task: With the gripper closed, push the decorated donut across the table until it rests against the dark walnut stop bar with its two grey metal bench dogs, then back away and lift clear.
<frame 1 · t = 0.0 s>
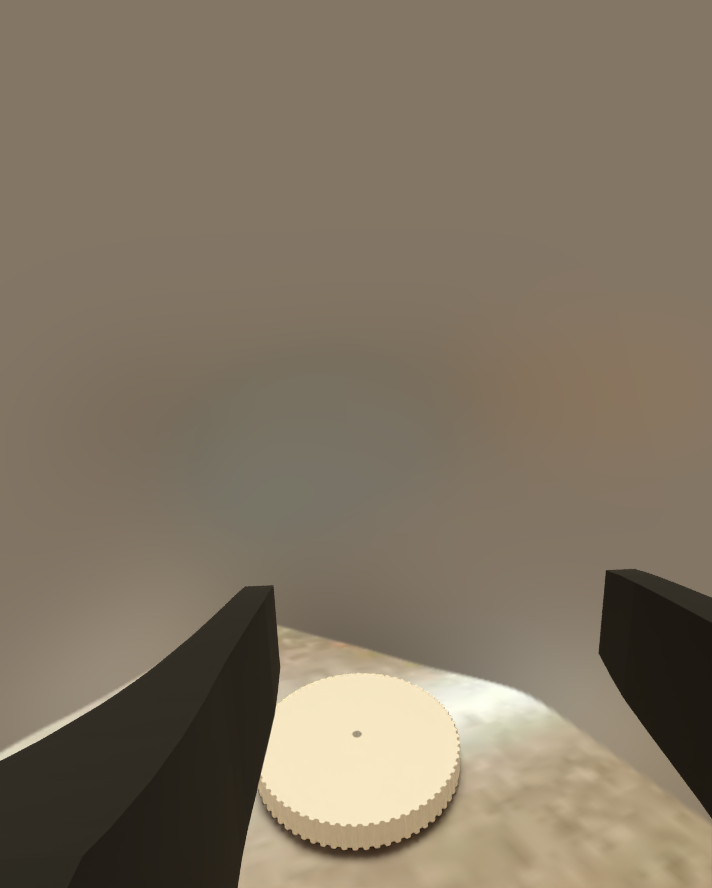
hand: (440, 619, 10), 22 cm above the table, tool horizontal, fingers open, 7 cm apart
plastic lid: (358, 769, 34), on the table
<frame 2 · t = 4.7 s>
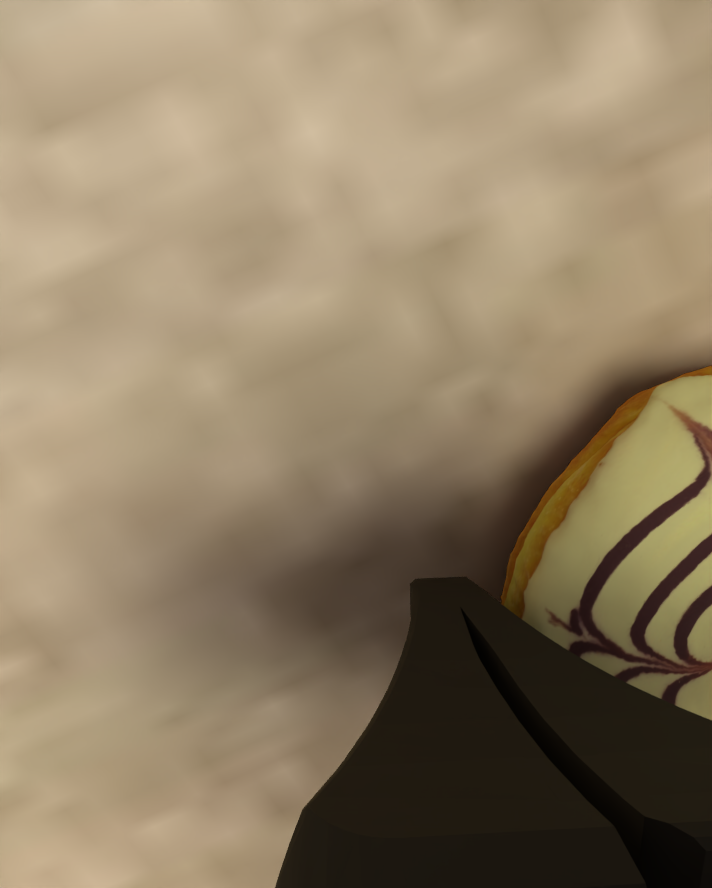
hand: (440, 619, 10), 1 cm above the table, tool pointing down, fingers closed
decorated donut: (687, 574, 12), on the table, touching gripper
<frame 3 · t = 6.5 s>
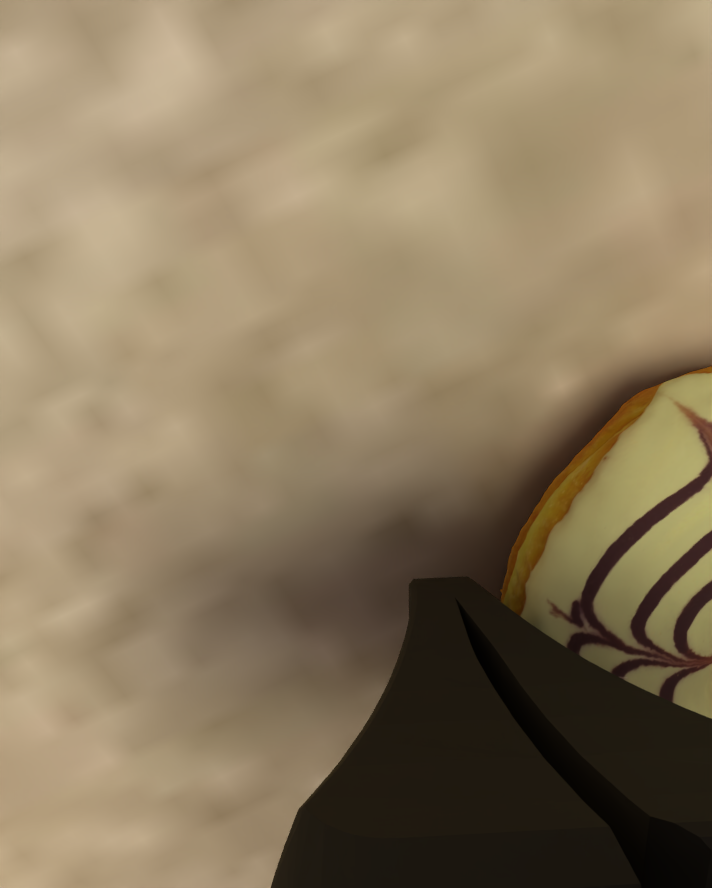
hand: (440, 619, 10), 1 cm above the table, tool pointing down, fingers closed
decorated donut: (685, 573, 12), on the table, touching gripper
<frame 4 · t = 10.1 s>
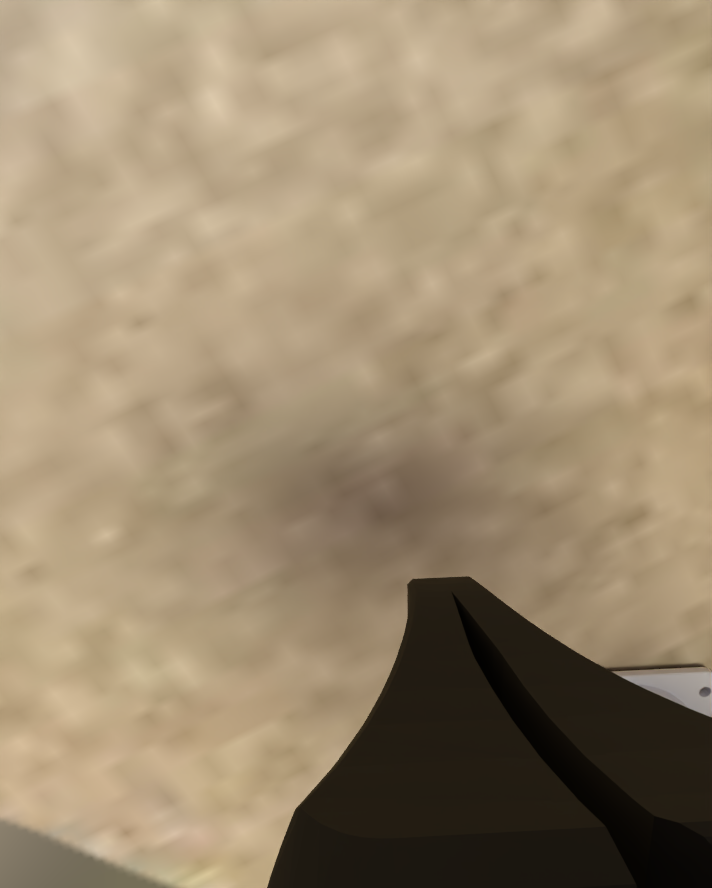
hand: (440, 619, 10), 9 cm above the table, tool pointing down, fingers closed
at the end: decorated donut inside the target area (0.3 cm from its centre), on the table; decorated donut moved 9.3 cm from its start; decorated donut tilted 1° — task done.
